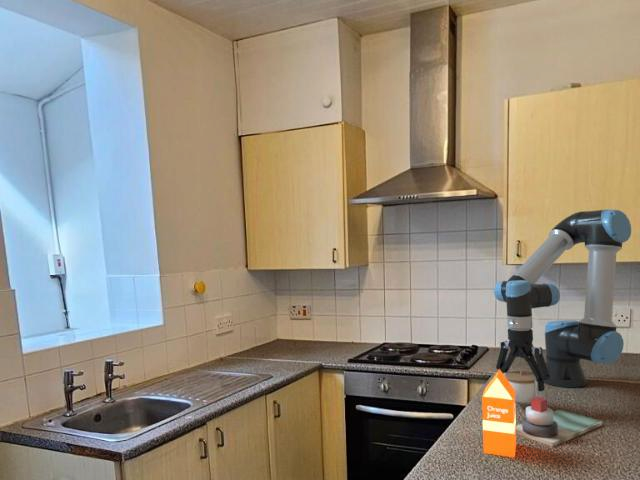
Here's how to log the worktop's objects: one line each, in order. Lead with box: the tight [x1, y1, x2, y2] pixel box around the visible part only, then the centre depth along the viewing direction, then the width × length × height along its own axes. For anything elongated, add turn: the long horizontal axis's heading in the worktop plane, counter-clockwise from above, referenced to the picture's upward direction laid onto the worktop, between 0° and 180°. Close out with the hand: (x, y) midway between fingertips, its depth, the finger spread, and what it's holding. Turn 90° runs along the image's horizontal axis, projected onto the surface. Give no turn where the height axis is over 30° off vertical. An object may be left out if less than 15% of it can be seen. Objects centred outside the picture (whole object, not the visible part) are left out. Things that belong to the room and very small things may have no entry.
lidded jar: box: [504, 369, 537, 403], centre depth 159 cm, size 11×11×9 cm
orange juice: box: [481, 369, 517, 458], centre depth 129 cm, size 8×9×20 cm
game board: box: [516, 409, 603, 448], centre depth 141 cm, size 25×13×4 cm, turn 123°
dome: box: [525, 397, 554, 425], centre depth 137 cm, size 7×7×6 cm
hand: (522, 396), depth 159 cm, fingers closed on lidded jar, 11 cm apart
